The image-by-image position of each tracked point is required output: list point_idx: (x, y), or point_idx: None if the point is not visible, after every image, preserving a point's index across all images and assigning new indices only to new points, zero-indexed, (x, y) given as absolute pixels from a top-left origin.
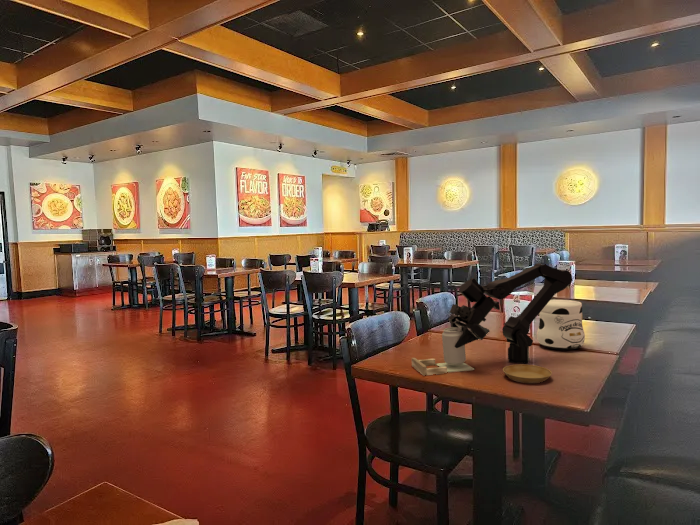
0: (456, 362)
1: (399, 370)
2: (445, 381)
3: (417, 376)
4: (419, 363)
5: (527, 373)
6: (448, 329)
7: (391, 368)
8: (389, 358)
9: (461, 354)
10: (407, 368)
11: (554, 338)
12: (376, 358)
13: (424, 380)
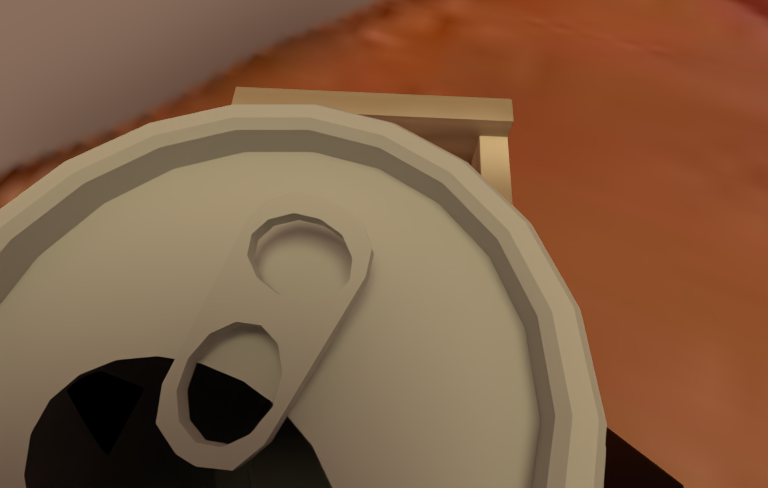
0: (230, 407)
1: (425, 56)
2: None
3: None
4: (331, 94)
5: None
6: (274, 212)
7: (482, 34)
8: (729, 85)
9: (179, 481)
10: None
11: None
12: (735, 24)
13: (168, 106)
